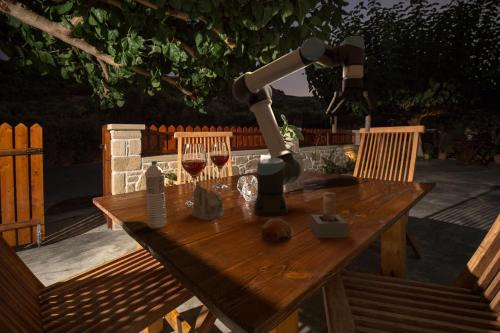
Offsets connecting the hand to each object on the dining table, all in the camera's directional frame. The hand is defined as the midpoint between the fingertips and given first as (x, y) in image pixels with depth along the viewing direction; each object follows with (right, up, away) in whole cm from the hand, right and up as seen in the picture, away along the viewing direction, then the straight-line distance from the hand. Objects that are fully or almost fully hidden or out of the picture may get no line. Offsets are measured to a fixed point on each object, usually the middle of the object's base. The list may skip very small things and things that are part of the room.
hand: (350, 132), depth 114 cm
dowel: (-13, -37, -15) cm, 42 cm away
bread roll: (-32, -38, -18) cm, 53 cm away
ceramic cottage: (-58, -35, +10) cm, 68 cm away
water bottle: (-76, -37, -6) cm, 85 cm away
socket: (-13, -37, -15) cm, 42 cm away
